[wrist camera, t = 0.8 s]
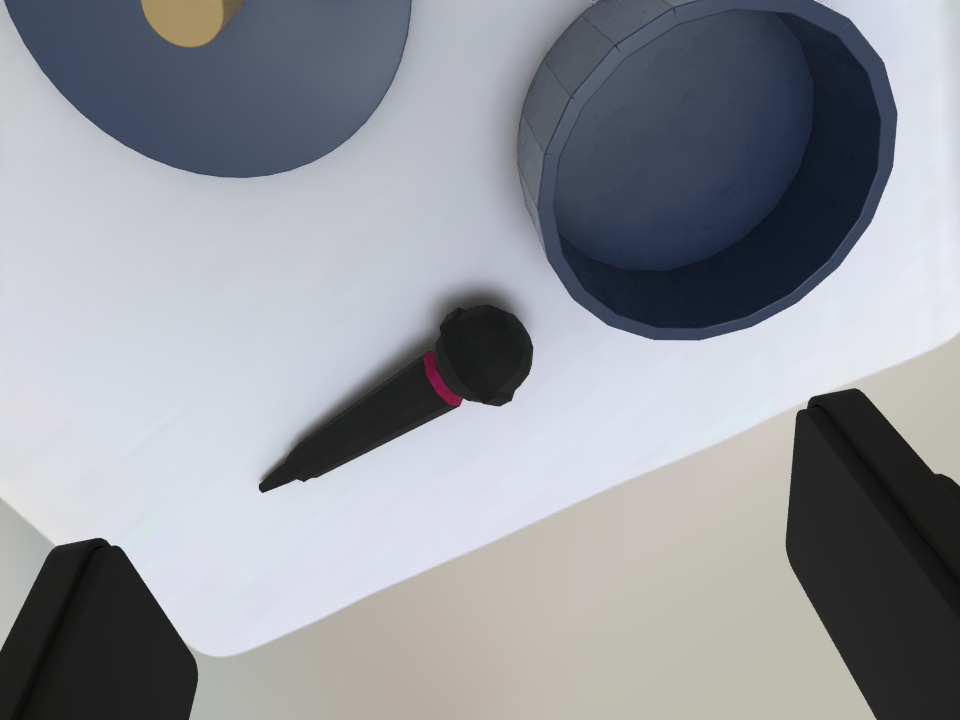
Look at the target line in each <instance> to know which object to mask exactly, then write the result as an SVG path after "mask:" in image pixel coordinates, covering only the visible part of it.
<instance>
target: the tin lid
mask: <svg viewBox="0 0 960 720" xmlns="http://www.w3.org/2000/svg"><path fill="white" fill-rule="evenodd" d="M4 2H5V4H6V7H7V9H8V12H9V14H10V17H11V19H12V21H13V23H14V25H15V27H16V28H17V30H18V32H19V34H20V36H21V38H22V40H23V42H24V44H25V45H26V47H27V48H28V50H29V51H30V53H31V54H32V56H33V57H34V59H35V60H36V62H37V63H38V65H39V67H40V68H41V70H42V71H43V72H44V73H45V74H46V76H47V77H48V78H49V79H50V81H51V82H52V83H53V84H54V85H55V87H56V88H57V89H58V90H59V91H60V93H61V94H62V95H63V96H64V97H65V98H66V99H67V100H68V101H69V102H70V103H71V104H72V105H73V106H74V107H75V108H76V109H77V110H78V111H79V112H80V113H82V114H83V115H84V116H85V117H86V118H88V119H89V120H90V121H91V122H93V123H94V124H95V125H96V126H98V127H99V128H100V129H101V130H103V131H104V132H105V133H107V134H109V135H110V136H112V137H113V138H115V139H116V140H118V141H119V142H121V143H122V144H124V145H125V146H127V147H129V148H131V149H133V150H135V151H137V152H139V153H141V154H143V155H145V156H147V157H149V158H151V159H153V160H156V161H159V162H161V163H164V164H166V165H169V166H172V167H174V168H178V169H182V170H186V171H189V172H193V173H197V174H203V175H210V176H217V177H235V178H248V177H258V176H268V175H273V174H277V173H281V172H286V171H290V170H293V169H295V168H298V167H301V166H303V165H306V164H309V163H311V162H313V161H315V160H317V159H319V158H321V157H322V156H324V155H326V154H328V153H330V152H332V151H333V150H334V149H336V148H337V147H338V146H340V145H341V144H342V143H344V142H345V141H346V140H348V139H349V138H350V137H351V136H352V135H353V134H354V133H355V132H356V131H357V130H358V129H359V128H360V127H361V126H362V125H363V124H364V123H365V122H366V121H367V120H368V119H369V117H370V116H371V115H372V113H373V112H374V111H375V110H376V108H377V107H378V106H379V104H380V103H381V101H382V99H383V97H384V96H385V94H386V92H387V90H388V89H389V87H390V85H391V83H392V81H393V79H394V76H395V74H396V71H397V69H398V66H399V64H400V62H401V58H402V55H403V51H404V47H405V43H406V39H407V36H408V28H409V21H410V13H411V0H4Z"/></svg>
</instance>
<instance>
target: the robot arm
mask: <svg viewBox="0 0 960 720" xmlns="http://www.w3.org/2000/svg"><path fill="white" fill-rule="evenodd" d="M786 551H787V555H788V559H789V562H790V565H791V567H792V569H793V571H794V573H795V574H796V576H797V578H798V580H799V582H800V583H801V585H802V587H803V589H804V591H805V592H806V594H807V596H808V598H809V600H810V601H811V603H812V605H813V607H814V608H815V610H816V612H817V614H818V615H819V617H820V619H821V621H822V623H823V625H824V626H825V628H826V630H827V632H828V634H829V635H830V637H831V639H832V641H833V642H834V644H835V646H836V648H837V649H838V651H839V653H840V655H841V657H842V658H843V660H844V662H845V664H846V666H847V667H848V669H849V671H850V673H851V675H852V676H853V678H854V680H855V682H856V684H857V685H858V687H859V689H860V691H861V692H862V694H863V696H864V697H865V700H866V701H867V703H868V705H869V707H870V708H871V710H872V712H873V714H874V716H875V718H876V719H877V720H960V486H959V485H958V484H956V482H954V481H953V480H952V479H951V478H949V477H947V476H945V475H942V474H934V473H933V472H932V471H931V469H930V468H929V467H928V466H927V465H926V464H925V463H924V461H923V460H922V459H921V458H920V457H919V456H918V455H917V453H916V452H915V451H914V450H913V449H912V448H911V447H910V445H909V444H908V443H907V442H906V441H905V440H904V439H903V438H902V436H901V435H900V434H899V433H898V432H897V431H896V429H895V428H894V427H893V426H892V425H891V424H890V423H889V421H888V420H887V419H886V418H885V417H884V416H883V415H882V413H881V412H880V411H879V410H878V409H877V408H876V407H875V405H874V404H873V403H872V402H871V401H870V400H869V399H868V398H867V397H866V396H865V394H864V393H863V392H861V391H860V390H858V389H855V388H854V389H848V390H843V391H839V392H833V393H828V394H823V395H818V396H814V397H811V398H810V400H809V402H808V406H807V409H803V410H800V411H798V413H797V416H796V425H795V437H794V450H793V461H792V473H791V485H790V496H789V508H788V521H787V532H786ZM197 682H198V670H197V664H196V661H195V659H194V657H193V655H192V654H191V652H190V651H189V649H188V648H187V646H186V645H185V643H184V641H183V640H182V638H181V637H180V635H179V634H178V632H177V631H176V629H175V628H174V626H173V625H172V623H171V622H170V620H169V619H168V617H167V616H166V614H165V613H164V611H163V610H162V608H161V607H160V605H159V604H158V602H157V601H156V599H155V598H154V596H153V595H152V593H151V592H150V590H149V589H148V587H147V586H146V584H145V583H144V581H143V580H142V578H141V577H140V575H139V574H138V572H137V571H136V569H135V568H134V566H133V565H132V563H131V562H130V560H129V559H128V557H127V556H126V554H125V553H124V551H123V550H122V549H121V548H120V547H118V546H111V545H110V544H109V543H108V542H107V541H106V540H104V539H102V538H95V539H90V540H85V541H80V542H75V543H70V544H65V545H60V546H57V547H55V548H54V549H52V551H51V552H50V553H49V555H48V556H47V558H46V560H45V562H44V564H43V566H42V568H41V570H40V572H39V574H38V576H37V579H36V580H35V582H34V585H33V586H32V589H31V590H30V592H29V595H28V597H27V599H26V601H25V603H24V605H23V607H22V609H21V611H20V613H19V615H18V617H17V619H16V621H15V623H14V625H13V627H12V629H11V631H10V633H9V635H8V637H7V639H6V641H5V643H4V645H3V647H2V649H1V651H0V720H189V717H190V713H191V708H192V704H193V700H194V696H195V692H196V688H197Z"/></svg>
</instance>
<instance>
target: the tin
mask: <svg viewBox="0 0 960 720" xmlns="http://www.w3.org/2000/svg"><path fill="white" fill-rule="evenodd" d="M896 126H897V109H896V105H895V102H894V98H893V94H892V91H891V87H890V83H889V79H888V76H887V72H886V68H885V65H884V62H883V61H882V59H881V58H880V56H879V55H878V54H877V53H876V51H875V50H874V49H873V48H872V46H871V45H870V44H869V42H868V41H867V40H866V39H865V37H864V36H863V35H862V34H861V32H860V31H859V30H858V29H857V27H856V26H855V25H854V24H853V22H852V21H851V20H850V19H849V18H847V17H845V16H843V15H841V14H839V13H837V12H835V11H833V10H832V9H830V8H828V7H826V6H824V5H822V4H820V3H818V2H816V1H814V0H600V1H598V2H597V3H596V4H594V5H593V6H592V7H590V8H589V9H587V10H586V11H585V12H584V13H583V14H582V15H581V16H580V17H579V18H578V19H577V20H576V21H574V22H573V23H572V24H571V25H570V26H569V27H568V29H567V30H566V31H565V32H564V33H563V34H562V36H561V37H560V38H559V39H558V40H557V42H556V43H555V44H554V45H553V47H552V48H551V50H550V52H549V53H548V55H547V56H546V58H545V59H544V61H543V62H542V64H541V66H540V68H539V70H538V72H537V74H536V76H535V78H534V80H533V82H532V84H531V86H530V89H529V92H528V95H527V97H526V100H525V103H524V106H523V111H522V115H521V120H520V124H519V133H518V144H517V152H518V158H517V161H518V162H517V165H518V169H519V174H520V180H521V185H522V189H523V192H524V197H525V201H526V206H527V208H528V211H529V214H530V216H531V219H532V221H533V224H534V226H535V229H536V231H537V234H538V236H539V239H540V242H541V244H542V247H543V249H544V252H545V254H546V257H547V259H548V261H549V263H550V264H551V266H552V267H553V269H554V271H555V272H556V274H557V275H558V277H559V278H560V280H561V282H562V283H563V285H564V286H565V288H566V289H567V291H568V293H569V294H570V296H571V297H572V298H573V300H575V301H576V302H577V303H579V304H580V305H581V306H583V307H584V308H585V309H587V310H588V311H589V312H591V313H592V314H593V315H595V316H596V317H597V318H599V319H600V320H601V321H603V322H604V323H605V324H607V325H608V326H611V327H614V328H617V329H621V330H624V331H627V332H630V333H633V334H636V335H640V336H643V337H646V338H649V339H653V340H703V339H707V338H711V337H715V336H719V335H723V334H727V333H730V332H734V331H738V330H742V329H746V328H749V327H752V326H754V325H756V324H758V323H760V322H762V321H764V320H766V319H768V318H769V317H771V316H773V315H775V314H777V313H779V312H781V311H783V310H785V309H786V308H788V307H790V306H792V305H794V304H796V303H797V302H799V301H800V300H801V299H802V298H803V297H804V296H806V295H807V294H808V293H809V292H810V291H811V290H813V289H814V288H815V287H816V286H817V285H818V284H819V283H821V282H822V281H823V280H824V279H825V278H826V277H828V276H829V275H830V274H831V273H832V272H833V271H835V270H836V269H837V268H838V267H839V266H840V265H841V263H842V262H843V260H844V259H845V258H846V256H847V255H848V254H849V252H850V251H851V249H852V248H853V247H854V245H855V244H856V242H857V241H858V240H859V238H860V237H861V236H862V234H863V233H864V231H865V230H866V229H867V227H868V226H869V225H870V223H871V222H872V221H871V220H872V219H873V217H874V214H875V212H876V209H877V207H878V204H879V202H880V199H881V197H882V194H883V192H884V189H885V186H886V184H887V181H888V179H889V176H890V174H891V171H892V168H893V161H894V149H895V138H896Z"/></svg>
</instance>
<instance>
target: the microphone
mask: <svg viewBox="0 0 960 720" xmlns="http://www.w3.org/2000/svg"><path fill="white" fill-rule="evenodd" d="M440 331H441V335H440V337H439V339H438V341H437V342H436V345H435V352H431V351H428V352H426V353H425V354H424V355H422V356H421V357H419V358H418V359H417V360H415V361H414V362H412V363H411V364H410V365H408V366H407V367H405V368H404V369H403V370H401V371H400V372H399V373H397V374H396V375H394V376H393V377H392V378H390V379H389V380H387V381H386V382H385V383H383V384H382V385H380V386H379V387H378V388H376V389H375V390H373V391H372V392H371V393H369V394H368V395H367V396H365V397H364V398H362V399H361V400H360V401H358V402H357V403H355V404H354V405H353V406H351V407H350V408H348V409H347V410H346V411H344V412H343V413H341V414H340V415H339V416H337V417H336V418H335V419H333V420H332V421H330V422H329V423H328V424H326V425H325V426H323V427H322V428H321V429H319V430H318V431H316V432H315V433H314V434H312V435H311V436H310V437H308V438H307V439H305V440H304V441H303V442H301V443H300V444H298V446H297V447H296V448H295V449H294V451H292V452H291V453H290V454H289V456H288V458H287V460H286V461H285V463H284V464H283V465H281V466H280V467H278V468H277V469H276V470H275V471H274V472H273V473H272V474H270V475H269V476H268V477H267V478H266V479H265V480H264V481H263V482H262V483H260V484H259V490H260V491H261V492H262V493H264V492H267V491H269V490H272V489H274V488H277V487H279V486H282V485H285V484H287V483H290V482H292V481H294V480H296V479H298V480H300V481H303V482H305V481H307V480H308V479H310V478H317V477H319V476H321V475H323V474H325V473H327V472H329V471H331V470H333V469H335V468H337V467H339V466H341V465H343V464H345V463H347V462H349V461H351V460H353V459H355V458H357V457H359V456H361V455H363V454H365V453H367V452H369V451H371V450H373V449H375V448H377V447H379V446H381V445H383V444H385V443H387V442H389V441H391V440H393V439H395V438H397V437H399V436H401V435H403V434H405V433H407V432H409V431H411V430H413V429H415V428H417V427H419V426H421V425H423V424H425V423H427V422H429V421H431V420H433V419H435V418H437V417H439V416H441V415H443V414H445V413H447V412H449V411H451V410H453V409H455V408H457V407H459V406H460V404H461V402H462V400H463V399H466V400H468V401H474V402H480V403H481V402H482V403H483V404H487V405H493V406H502V405H504V404H506V403H508V402H510V401H512V398H513V395H514V392H515V390H516V389H517V388H518V387H519V386H520V385H521V384H522V383H523V381H524V380H525V379H526V377H527V376H528V375H529V372H530V369H531V366H532V358H533V345H532V342H531V339H530V336H529V334H528V332H527V331H526V329H525V327H524V326H523V324H522V323H521V322H520V321H519V320H518V318H517V317H516V316H515V315H513V314H511V313H508V312H506V311H504V310H501V309H499V308H496V307H494V306H491V305H483V306H477V307H474V308H471V309H468V310H464V309H461V308H459V307H458V308H457V309H455V310H454V311H453V312H451V313H450V314H449V315H447V317H446V318H445V320H444V321H443V323H442V325H441V326H440Z"/></svg>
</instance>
